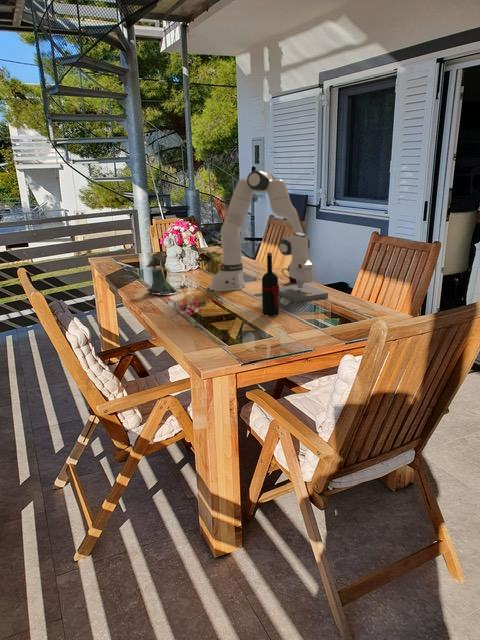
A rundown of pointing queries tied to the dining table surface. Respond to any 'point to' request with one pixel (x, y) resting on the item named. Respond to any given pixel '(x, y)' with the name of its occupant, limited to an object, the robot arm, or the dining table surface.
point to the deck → (301, 293)
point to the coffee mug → (289, 276)
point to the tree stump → (160, 283)
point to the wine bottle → (270, 290)
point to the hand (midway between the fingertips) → (300, 287)
